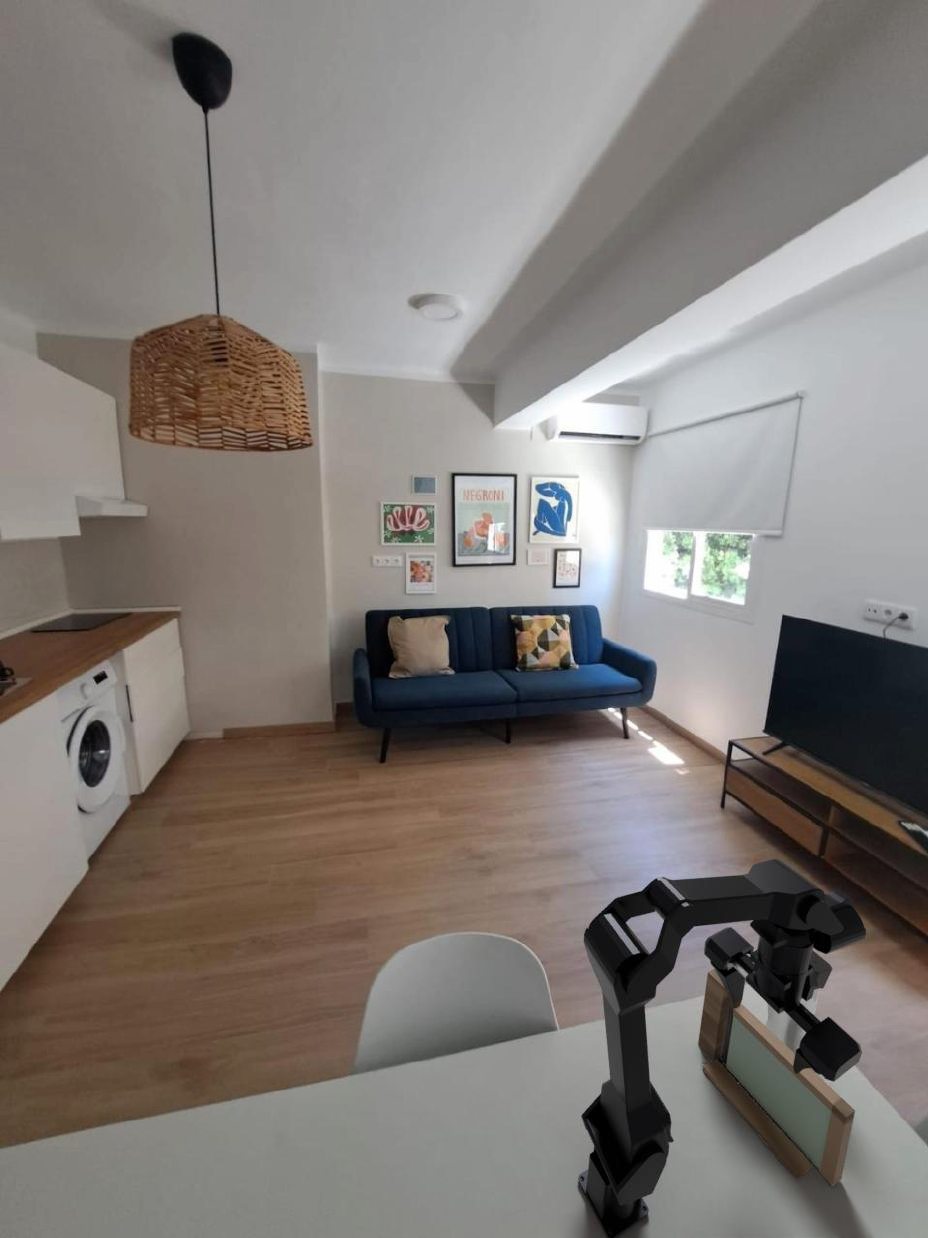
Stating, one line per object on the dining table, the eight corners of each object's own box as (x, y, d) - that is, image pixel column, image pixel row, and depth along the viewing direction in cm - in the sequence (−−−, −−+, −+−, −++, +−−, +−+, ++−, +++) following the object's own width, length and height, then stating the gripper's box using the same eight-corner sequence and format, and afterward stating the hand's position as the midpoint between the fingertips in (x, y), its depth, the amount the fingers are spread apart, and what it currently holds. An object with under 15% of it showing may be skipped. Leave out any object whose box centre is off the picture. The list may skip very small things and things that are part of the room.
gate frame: (797, 1180, 66) (813, 1094, 63) (685, 1050, 82) (695, 978, 80) (824, 1158, 68) (840, 1074, 66) (710, 1036, 85) (720, 966, 82)
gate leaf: (724, 1067, 79) (733, 1008, 78) (733, 1062, 80) (742, 1004, 78) (832, 1186, 65) (846, 1117, 63) (841, 1179, 66) (855, 1110, 64)
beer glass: (792, 1028, 87) (805, 954, 84) (816, 1069, 80) (831, 990, 78) (751, 1023, 87) (763, 949, 85) (772, 1063, 81) (785, 985, 78)
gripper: (900, 993, 60) (873, 1079, 64) (758, 883, 76) (745, 957, 81) (844, 1035, 56) (819, 1124, 60) (707, 909, 72) (696, 986, 77)
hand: (765, 1037), depth 70 cm, fingers open, 9 cm apart
